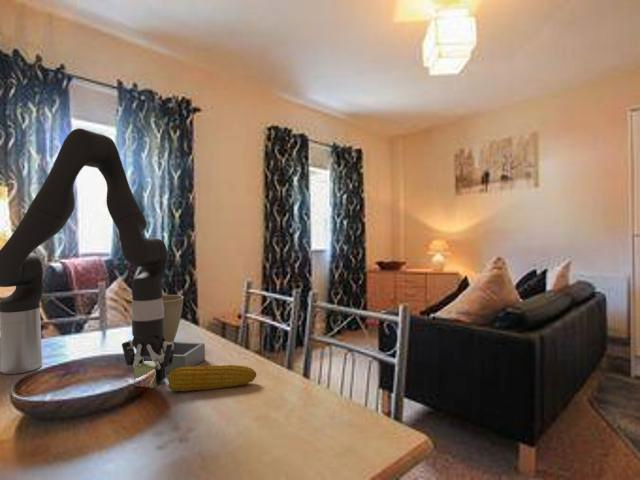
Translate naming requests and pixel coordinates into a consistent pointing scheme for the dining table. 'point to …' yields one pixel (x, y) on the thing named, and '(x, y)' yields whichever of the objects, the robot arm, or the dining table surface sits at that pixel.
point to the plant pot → (171, 315)
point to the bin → (185, 355)
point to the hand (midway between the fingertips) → (149, 381)
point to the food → (209, 377)
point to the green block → (145, 371)
